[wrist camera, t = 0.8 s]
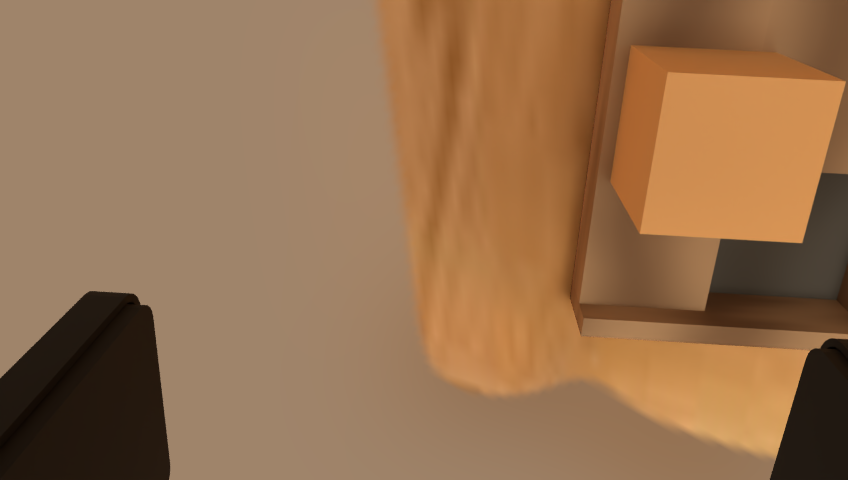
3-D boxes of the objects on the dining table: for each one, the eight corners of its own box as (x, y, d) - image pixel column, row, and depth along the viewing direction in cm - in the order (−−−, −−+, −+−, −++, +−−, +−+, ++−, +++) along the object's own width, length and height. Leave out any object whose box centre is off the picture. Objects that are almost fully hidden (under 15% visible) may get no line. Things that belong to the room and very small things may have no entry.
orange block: (776, 52, 25) (845, 81, 21) (745, 189, 27) (802, 243, 23) (630, 45, 25) (667, 72, 21) (610, 181, 27) (639, 233, 23)
